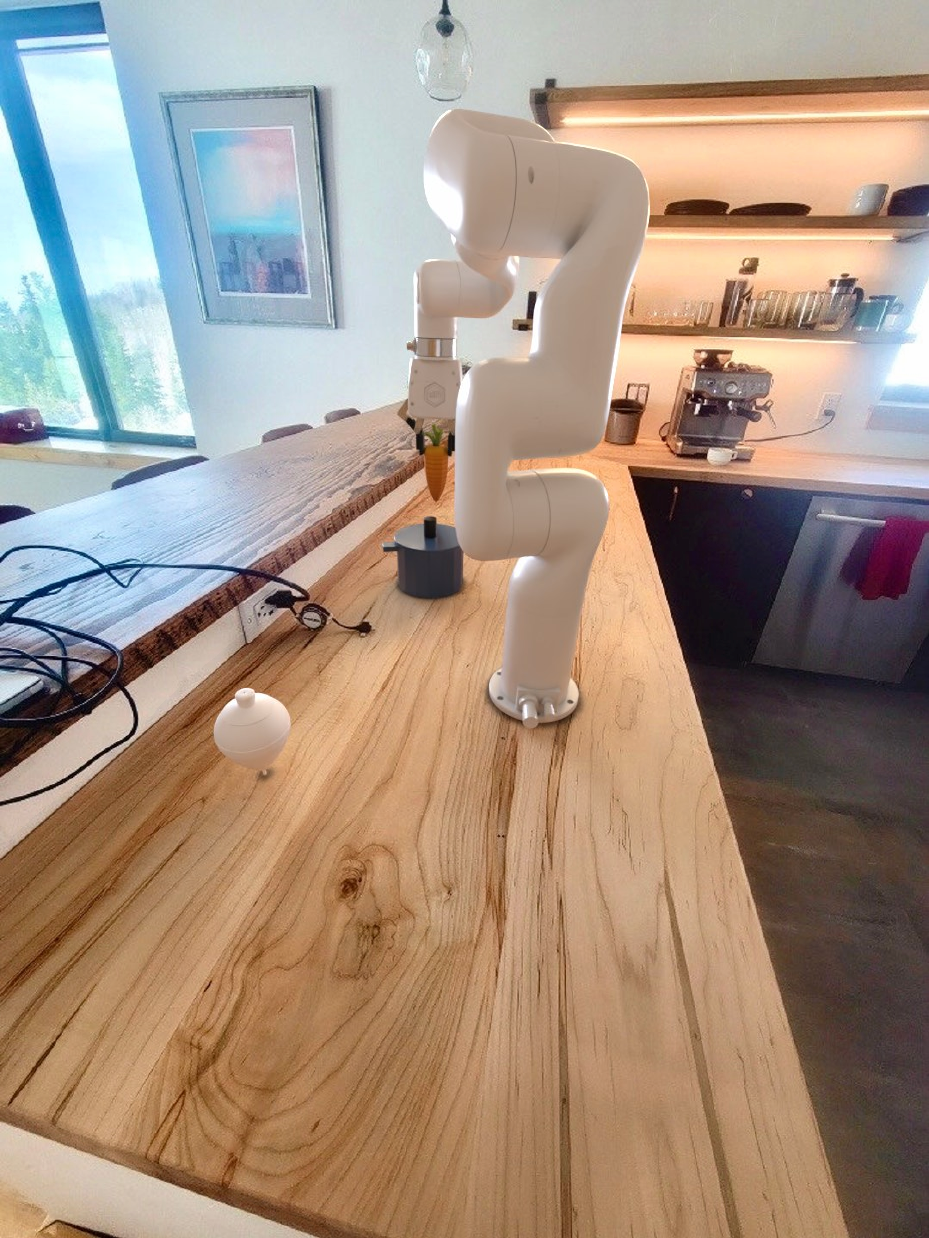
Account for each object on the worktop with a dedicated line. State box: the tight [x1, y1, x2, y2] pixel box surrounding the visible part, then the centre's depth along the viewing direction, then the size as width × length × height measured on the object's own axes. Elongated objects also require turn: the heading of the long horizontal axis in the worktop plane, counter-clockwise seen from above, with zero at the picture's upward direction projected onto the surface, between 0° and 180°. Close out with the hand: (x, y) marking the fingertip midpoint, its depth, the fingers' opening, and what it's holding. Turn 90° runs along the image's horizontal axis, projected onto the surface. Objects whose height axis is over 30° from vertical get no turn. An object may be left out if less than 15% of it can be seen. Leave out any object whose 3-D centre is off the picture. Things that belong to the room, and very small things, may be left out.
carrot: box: [423, 423, 449, 503], centre depth 100 cm, size 5×5×15 cm
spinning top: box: [213, 687, 292, 776], centre depth 55 cm, size 8×8×12 cm
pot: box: [381, 541, 465, 599], centre depth 98 cm, size 13×18×10 cm
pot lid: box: [393, 515, 460, 553], centre depth 94 cm, size 14×14×5 cm
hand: (436, 453), depth 99 cm, fingers closed on carrot, 4 cm apart
